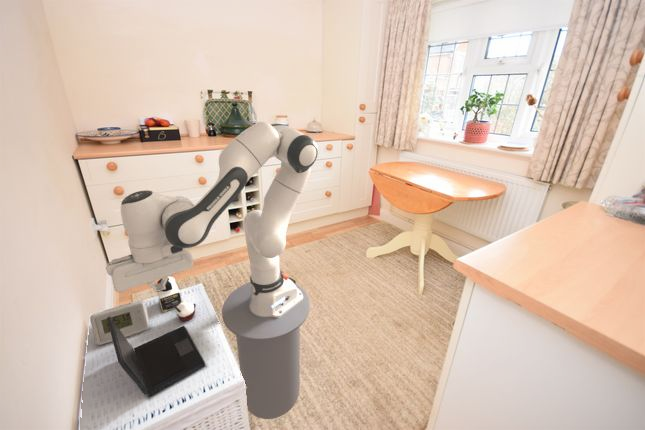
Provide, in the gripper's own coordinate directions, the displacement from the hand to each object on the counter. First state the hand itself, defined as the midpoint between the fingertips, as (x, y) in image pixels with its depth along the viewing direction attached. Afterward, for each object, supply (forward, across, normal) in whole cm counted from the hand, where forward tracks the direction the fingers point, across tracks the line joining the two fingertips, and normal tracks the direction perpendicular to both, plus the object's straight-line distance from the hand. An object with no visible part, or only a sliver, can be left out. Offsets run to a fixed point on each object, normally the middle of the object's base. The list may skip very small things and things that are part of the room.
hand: (159, 290), depth 85 cm
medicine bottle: (+27, +6, +27) cm, 39 cm away
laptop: (+27, -2, 0) cm, 27 cm away
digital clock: (+27, -11, +21) cm, 36 cm away
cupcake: (+27, +8, +15) cm, 32 cm away
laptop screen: (+17, -11, 0) cm, 21 cm away
